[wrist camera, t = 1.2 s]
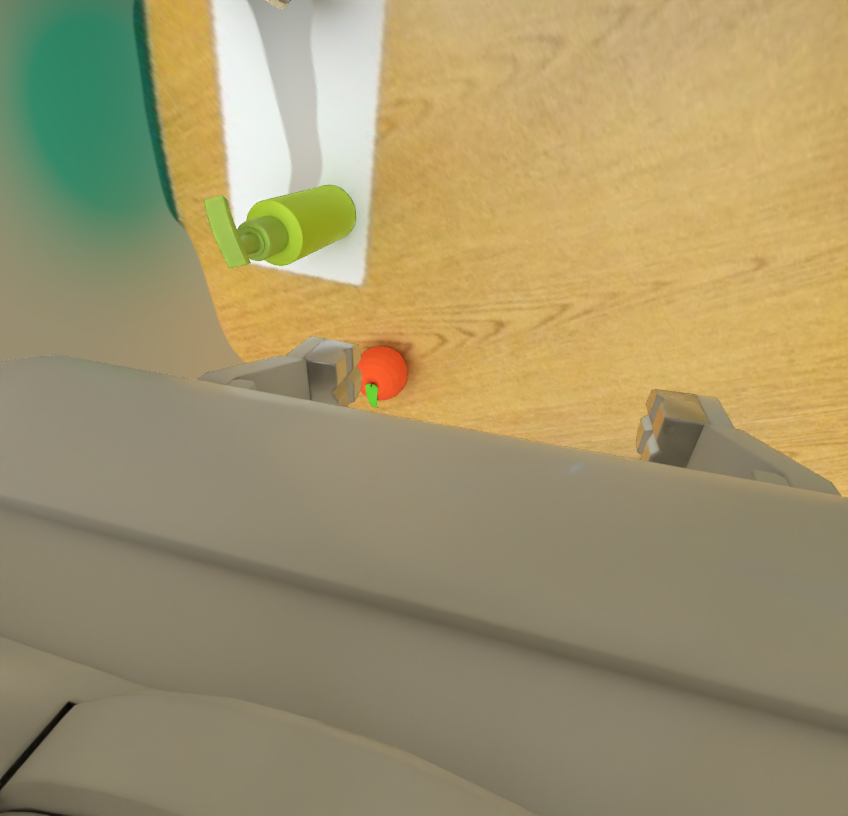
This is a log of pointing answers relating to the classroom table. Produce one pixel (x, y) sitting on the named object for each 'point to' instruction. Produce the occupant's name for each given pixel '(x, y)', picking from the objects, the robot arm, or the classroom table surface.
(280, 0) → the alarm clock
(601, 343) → the classroom table surface
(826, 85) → the classroom table surface
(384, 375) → the clementine
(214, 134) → the classroom table surface
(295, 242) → the soap dispenser
